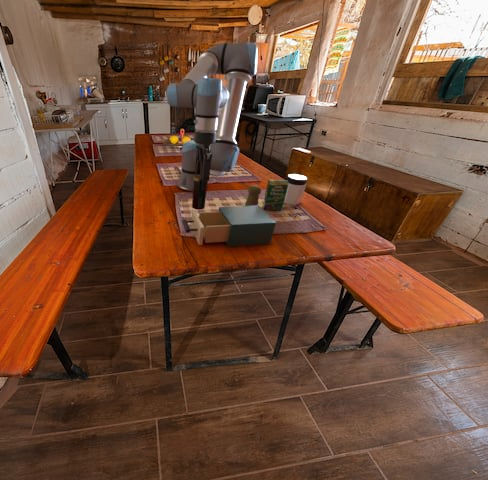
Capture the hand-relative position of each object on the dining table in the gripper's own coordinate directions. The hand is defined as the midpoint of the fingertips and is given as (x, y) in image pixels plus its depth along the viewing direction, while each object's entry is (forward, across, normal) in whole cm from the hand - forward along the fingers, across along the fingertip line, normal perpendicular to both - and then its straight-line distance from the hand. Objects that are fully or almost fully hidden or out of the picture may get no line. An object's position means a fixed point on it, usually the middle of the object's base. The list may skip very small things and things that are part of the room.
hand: (199, 193), depth 101 cm
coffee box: (+10, -4, +35) cm, 37 cm away
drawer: (+9, +16, 0) cm, 19 cm away
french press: (+10, -56, +25) cm, 62 cm away
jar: (+10, -11, +48) cm, 50 cm away
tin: (+6, 0, 0) cm, 6 cm away
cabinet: (+10, +16, +13) cm, 23 cm away
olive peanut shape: (+10, -4, +25) cm, 27 cm away
